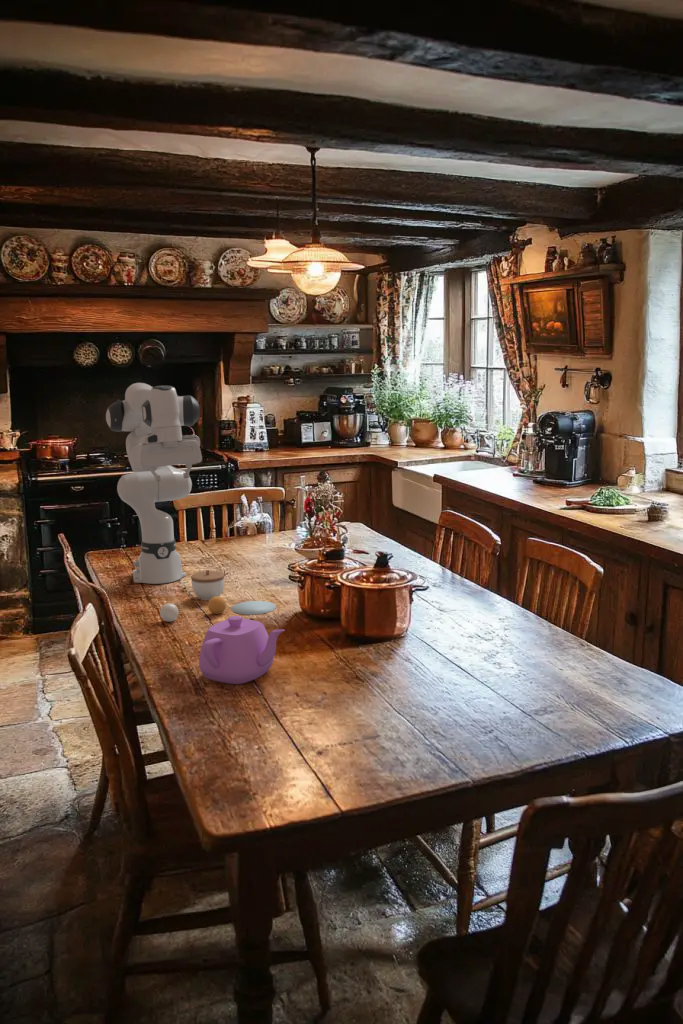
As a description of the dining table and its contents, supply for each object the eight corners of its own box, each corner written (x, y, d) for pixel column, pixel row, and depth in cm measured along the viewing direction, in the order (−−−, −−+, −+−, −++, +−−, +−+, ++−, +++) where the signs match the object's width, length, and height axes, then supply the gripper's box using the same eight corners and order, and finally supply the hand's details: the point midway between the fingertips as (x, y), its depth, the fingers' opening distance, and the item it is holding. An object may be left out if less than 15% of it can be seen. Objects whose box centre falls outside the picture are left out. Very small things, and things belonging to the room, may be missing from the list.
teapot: (179, 685, 209) (176, 626, 207) (231, 658, 227) (229, 603, 224) (256, 703, 198) (253, 641, 195) (304, 673, 216) (303, 615, 213)
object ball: (206, 612, 267) (205, 595, 266) (223, 610, 269) (222, 593, 268) (211, 617, 262) (210, 600, 261) (228, 614, 264) (228, 597, 263)
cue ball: (158, 620, 260) (157, 602, 259) (176, 617, 262) (175, 600, 261) (163, 625, 255) (162, 607, 254) (181, 622, 258) (180, 604, 257)
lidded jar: (208, 604, 275) (207, 576, 273) (185, 599, 282) (184, 571, 280) (232, 596, 284) (230, 569, 282) (209, 591, 290) (207, 564, 288)
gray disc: (225, 605, 274) (225, 604, 274) (266, 599, 280) (266, 598, 280) (240, 617, 261) (240, 616, 261) (282, 610, 267) (282, 610, 267)
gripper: (196, 434, 281) (200, 476, 282) (134, 439, 272) (138, 482, 273) (202, 433, 275) (206, 476, 276) (139, 438, 266) (143, 483, 267)
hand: (172, 479), depth 275 cm, fingers open, 8 cm apart
